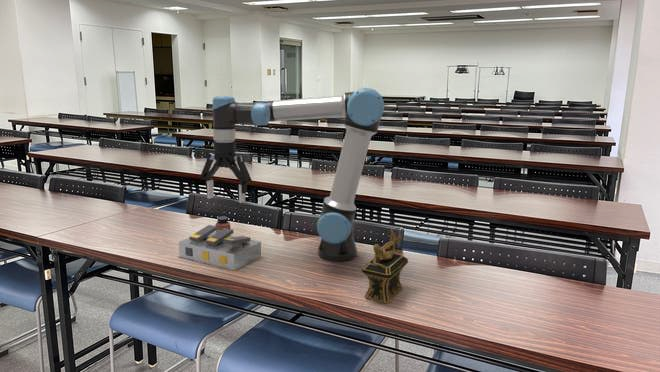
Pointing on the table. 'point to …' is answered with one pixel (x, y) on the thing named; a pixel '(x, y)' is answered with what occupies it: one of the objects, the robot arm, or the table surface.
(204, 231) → the switch
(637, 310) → the table surface
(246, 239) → the switch
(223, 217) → the supplement bottle
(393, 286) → the decorative box
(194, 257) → the console
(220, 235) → the switch
